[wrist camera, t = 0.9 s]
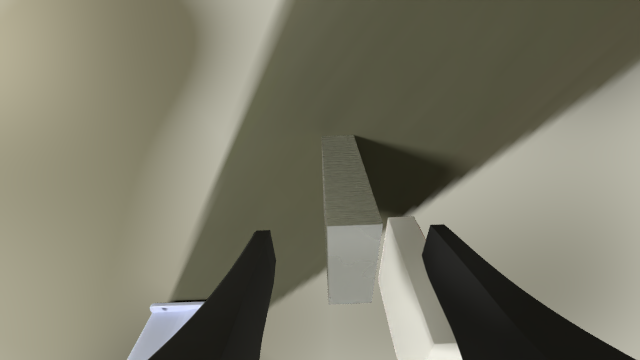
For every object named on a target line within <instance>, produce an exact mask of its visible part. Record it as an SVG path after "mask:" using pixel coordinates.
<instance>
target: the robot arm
mask: <svg viewBox="0 0 640 360" xmlns="http://www.w3.org/2000/svg"><path fill="white" fill-rule="evenodd" d="M422 259H423V262H424V266H425V269H426V272H427V275H428V278H429V280H430V283H431V285H432V287H433V289H434V292H435V294H436V296H437V298H438V301H439V303H440V305H441V307H442V310H443V312H444V314H445V316H446V318H447V321H448V323H449V325H450V327H451V330H452V332H453V335H454V337H455V340H456V342H457V345H458V348H459V351H460V354H461V357H462V360H635V359H634V358H632V357H630V356H628V355H626V354H624V353H623V352H621V351H619V350H618V349H616V348H614V347H612V346H610V345H609V344H607V343H605V342H603V341H602V340H600V339H598V338H596V337H595V336H593V335H591V334H590V333H588V332H586V331H584V330H583V329H581V328H580V327H578V326H576V325H575V324H573V323H572V322H570V321H568V320H567V319H565V318H564V317H562V316H560V315H559V314H557V313H556V312H554V311H553V310H551V309H550V308H548V307H547V306H545V305H543V304H542V303H541V302H539V301H538V300H536V299H535V298H533V297H532V296H531V295H529V294H528V293H526V292H525V291H523V290H522V289H521V288H519V287H518V286H517V285H515V284H514V283H513V282H511V281H510V280H509V279H508V278H506V277H505V276H504V275H502V274H501V273H500V272H499V271H497V270H496V269H495V268H494V267H492V266H491V265H490V264H489V263H488V262H486V261H485V260H484V259H483V258H482V257H481V256H479V255H478V254H477V253H476V252H475V251H473V250H472V249H471V248H470V247H469V246H468V245H467V244H466V243H465V242H463V241H462V240H461V239H460V238H459V237H458V236H457V235H456V234H454V233H453V232H452V231H451V230H450V229H449V228H447V227H446V226H445V225H430V228H429V232H428V235H427V238H426V242H425V245H424V249H423V252H422ZM275 264H276V258H275V253H274V248H273V243H272V238H271V233H270V230H264V231H256V232H255V233H254V234H253V236H252V238H251V239H250V241H249V243H248V244H247V246H246V247H245V249H244V250H243V252H242V253H241V255H240V256H239V258H238V259H237V261H236V262H235V264H234V265H233V267H232V268H231V269H230V271H229V272H228V274H227V275H226V276H225V277H224V279H223V280H222V281H221V283H220V284H219V285H218V286H217V288H216V289H215V290H214V292H213V293H212V294H211V295H210V296H209V298H208V299H207V300H206V301H204V302H175V303H153V304H152V305H151V306H150V310H151V312H152V315H151V317H150V318H149V320H148V322H147V324H146V326H145V327H144V330H143V331H142V333H141V335H140V337H139V338H138V340H137V342H136V344H135V346H134V348H133V349H132V351H131V354H130V355H129V357H128V359H127V360H259V358H260V350H261V342H262V337H263V331H264V327H265V322H266V317H267V313H268V308H269V303H270V298H271V293H272V289H273V284H274V275H275Z"/></svg>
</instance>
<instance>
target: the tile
mask: <svg viewBox="0 0 640 360" xmlns="http://www.w3.org/2000/svg"><path fill="white" fill-rule="evenodd" d="M425 242H426V239H425V237H424V235H423V233H422V231H421V229H420V227H419V225H418V224H417V222H416V220H415V218H414V217H388V222H387V228H386V234H385V240H384V247H383V253H382V260H381V266H380V272H379V278H378V282H379V286H380V290H381V294H382V298H383V303H384V307H385V311H386V315H387V319H388V324H389V328H390V332H391V336H392V340H393V344H394V348H395V353H396V357H397V360H462V357H461V354H460V351H459V348H458V345H457V342H456V340H455V337H454V335H453V332H452V330H451V327H450V325H449V323H448V321H447V318H446V316H445V314H444V312H443V310H442V307H441V305H440V303H439V301H438V298H437V296H436V294H435V292H434V289H433V287H432V285H431V283H430V280H429V278H428V275H427V272H426V269H425V266H424V262H423V259H422V252H423V249H424V245H425Z"/></svg>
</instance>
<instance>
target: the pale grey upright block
mask: <svg viewBox="0 0 640 360" xmlns="http://www.w3.org/2000/svg"><path fill="white" fill-rule="evenodd" d="M322 164H323V199H324V219H325V240H326V260H327V279H328V299H329V304H354V303H371V302H372V295H373V288H374V281H375V274H376V267H377V260H378V253H379V247H380V240H381V234H382V227H383V223H382V220H381V217H380V214H379V211H378V208H377V205H376V202H375V199H374V196H373V193H372V190H371V187H370V184H369V180H368V177H367V174H366V171H365V168H364V165H363V162H362V159H361V156H360V153H359V150H358V147H357V144H356V141H355V138H354V135H343V136H322Z"/></svg>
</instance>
